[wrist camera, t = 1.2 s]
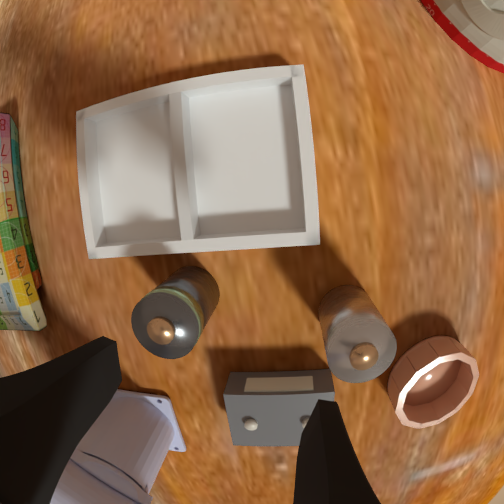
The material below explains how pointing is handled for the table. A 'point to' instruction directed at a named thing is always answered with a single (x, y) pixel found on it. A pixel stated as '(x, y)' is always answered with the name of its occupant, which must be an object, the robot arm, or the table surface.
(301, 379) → the grey box with knobs
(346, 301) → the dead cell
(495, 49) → the kitchen timer
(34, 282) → the puzzle game
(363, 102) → the table surface
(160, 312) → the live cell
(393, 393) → the pink bowl
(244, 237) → the tray
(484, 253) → the table surface
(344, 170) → the table surface
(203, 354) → the table surface
